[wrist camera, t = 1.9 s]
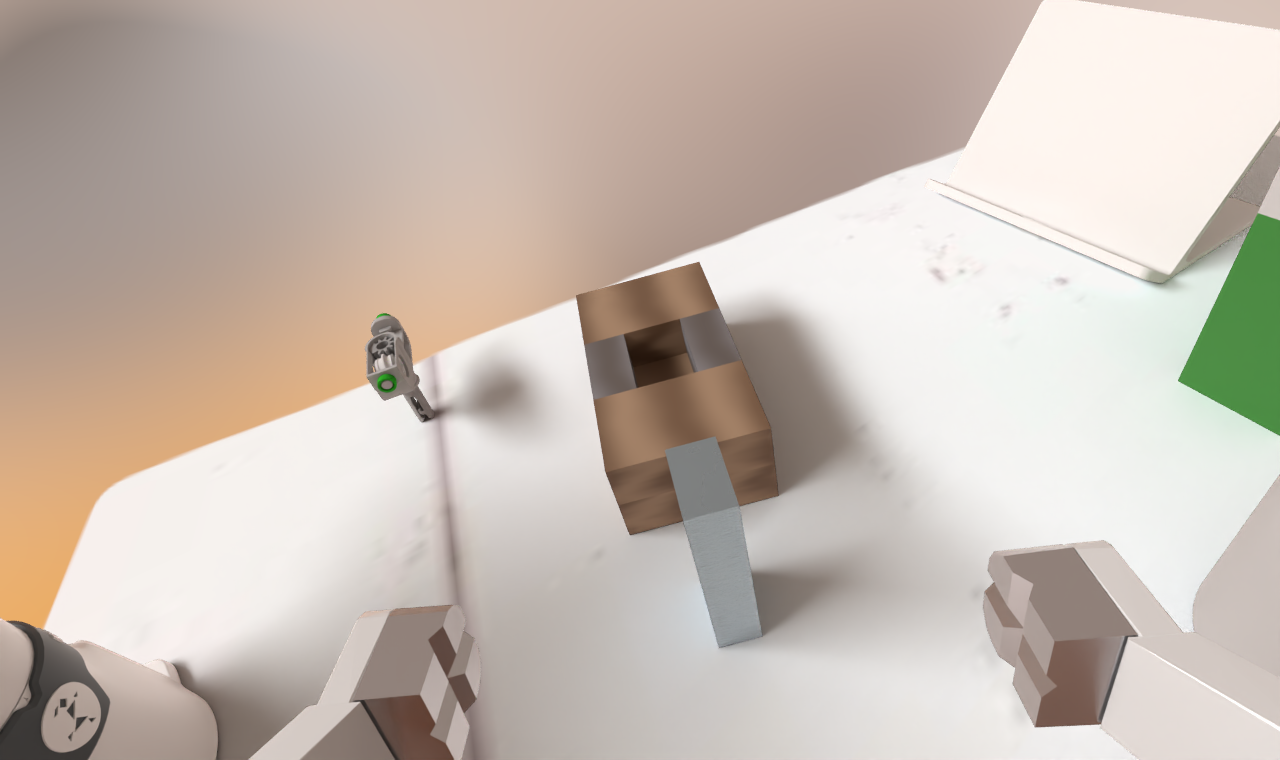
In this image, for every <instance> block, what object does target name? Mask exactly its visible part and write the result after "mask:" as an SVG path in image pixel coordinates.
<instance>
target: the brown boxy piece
mask: <svg viewBox="0 0 1280 760" xmlns="http://www.w3.org/2000/svg"><path fill="white" fill-rule="evenodd" d="M576 298H577V304H578V310H579V316H580V322H581V328H582V334H583V340H584V346H585V352H586V358H587V364H588V370H589V376H590V382H591V388H592V394H593V400H594V406H595V412H596V418H597V424H598V430H599V436H600V442H601V448H602V454H603V460H604V466H605V472H606V475H607V477H608V480H609V482H610V485H611V488H612V490H613V493H614V495H615V498H616V501H617V503H618V506H619V508H620V511H621V513H622V516H623V519H624V521H625V524H626V526H627V529H628V532H629V534H630V535H632V534H636V533H640V532H643V531H647V530H651V529H655V528H658V527H662V526H666V525H670V524H673V523H677V522H681V521H683V518H682V515H681V511H680V507H679V503H678V499H677V495H676V491H675V488H674V484H673V480H672V476H671V472H670V468H669V465H668V461H667V457H666V453H665V450H666V449H670V448H674V447H677V446H681V445H685V444H689V443H692V442H696V441H700V440H703V439H707V438H711V437H716V439H717V442H718V445H719V448H720V451H721V454H722V457H723V460H724V463H725V466H726V469H727V472H728V475H729V477H730V480H731V483H732V486H733V489H734V492H735V495H736V498H737V501H738V504H739V506H741V505H745V504H749V503H752V502H756V501H760V500H764V499H768V498H771V497H775V496H778V488H777V479H776V470H775V461H774V452H773V443H772V433H771V427H770V425H769V422H768V420H767V418H766V416H765V413H764V411H763V409H762V406H761V404H760V402H759V399H758V397H757V395H756V392H755V390H754V388H753V385H752V383H751V381H750V378H749V376H748V374H747V372H746V369H745V367H744V365H743V362H742V360H741V358H740V355H739V353H738V351H737V348H736V346H735V344H734V341H733V339H732V337H731V334H730V332H729V330H728V327H727V325H726V323H725V321H724V318H723V316H722V314H721V311H720V309H719V307H718V304H717V302H716V300H715V297H714V295H713V293H712V290H711V288H710V286H709V283H708V281H707V279H706V277H705V274H704V272H703V270H702V267H701V265H700V263H699V262H697V263H693V264H689V265H686V266H682V267H678V268H675V269H671V270H667V271H664V272H660V273H656V274H653V275H649V276H645V277H642V278H638V279H634V280H631V281H627V282H623V283H620V284H616V285H612V286H609V287H605V288H601V289H598V290H594V291H590V292H587V293H583V294H579V295H577V296H576Z"/></svg>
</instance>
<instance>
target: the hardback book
mask: <svg viewBox="0 0 1280 760" xmlns="http://www.w3.org/2000/svg"><path fill="white" fill-rule="evenodd" d="M1178 381H1179V382H1181V383H1183V384H1185V385H1186V386H1188V387H1190V388H1192V389H1194V390H1196V391H1198V392H1199V393H1201V394H1203V395H1205V396H1207V397H1209V398H1211V399H1212V400H1214V401H1216V402H1218V403H1220V404H1222V405H1224V406H1226V407H1227V408H1229V409H1231V410H1233V411H1235V412H1237V413H1239V414H1240V415H1242V416H1244V417H1246V418H1248V419H1250V420H1252V421H1253V422H1255V423H1257V424H1259V425H1261V426H1263V427H1265V428H1266V429H1268V430H1270V431H1272V432H1274V433H1276V434H1278V435H1279V436H1280V167H1279V169H1278V171H1277V173H1276V175H1275V178H1274V180H1273V182H1272V184H1271V186H1270V188H1269V190H1268V192H1267V194H1266V197H1265V199H1264V201H1263V203H1262V205H1261V207H1260V209H1259V211H1258V213H1257V215H1256V218H1255V220H1254V222H1253V224H1252V226H1251V228H1250V230H1249V232H1248V234H1247V237H1246V239H1245V241H1244V243H1243V245H1242V247H1241V249H1240V251H1239V253H1238V255H1237V258H1236V260H1235V262H1234V264H1233V266H1232V268H1231V270H1230V272H1229V274H1228V277H1227V279H1226V281H1225V283H1224V285H1223V287H1222V289H1221V291H1220V293H1219V295H1218V298H1217V300H1216V302H1215V304H1214V306H1213V308H1212V310H1211V312H1210V314H1209V317H1208V319H1207V321H1206V323H1205V325H1204V327H1203V329H1202V331H1201V333H1200V335H1199V338H1198V340H1197V342H1196V344H1195V346H1194V348H1193V350H1192V352H1191V354H1190V356H1189V359H1188V361H1187V363H1186V365H1185V367H1184V369H1183V371H1182V373H1181V375H1180V378H1179V380H1178Z"/></svg>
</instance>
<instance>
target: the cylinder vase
mask: <svg viewBox="0 0 1280 760" xmlns="http://www.w3.org/2000/svg"><path fill="white" fill-rule="evenodd" d="M1193 627H1194V632H1196V633H1198V634H1200V635H1202V636H1203V637H1205V638H1207V639H1209V640H1211V641H1213V642H1214V643H1216V644H1218V645H1220V646H1222V647H1224V648H1225V649H1227V650H1229V651H1231V652H1233V653H1235V654H1236V655H1238V656H1240V657H1242V658H1244V659H1246V660H1247V661H1249V662H1251V663H1253V664H1255V665H1257V666H1258V667H1260V668H1262V669H1264V670H1266V671H1268V672H1269V673H1271V674H1273V675H1275V676H1277V677H1279V678H1280V475H1279V476H1278V478H1277V479H1276V480H1275V482H1274V483H1273V485H1272V486H1271V487H1270V489H1269V490H1268V491H1267V493H1266V494H1265V496H1264V497H1263V498H1262V500H1261V501H1260V503H1259V504H1258V505H1257V507H1256V508H1255V510H1254V511H1253V512H1252V514H1251V515H1250V517H1249V518H1248V519H1247V521H1246V522H1245V524H1244V525H1243V526H1242V528H1241V529H1240V531H1239V532H1238V533H1237V535H1236V536H1235V538H1234V539H1233V540H1232V542H1231V543H1230V545H1229V546H1228V547H1227V549H1226V550H1225V552H1224V553H1223V554H1222V556H1221V557H1220V559H1219V560H1218V561H1217V563H1216V564H1215V566H1214V567H1213V568H1212V570H1211V571H1210V573H1209V574H1208V575H1207V577H1206V578H1205V579H1204V581H1203V582H1202V584H1201V585H1200V587H1199V589H1198V591H1197V594H1196V597H1195V600H1194V605H1193Z"/></svg>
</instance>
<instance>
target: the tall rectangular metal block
mask: <svg viewBox="0 0 1280 760" xmlns="http://www.w3.org/2000/svg"><path fill="white" fill-rule="evenodd" d="M665 453H666V457H667V461H668V465H669V468H670V472H671V476H672V480H673V484H674V488H675V491H676V495H677V499H678V503H679V507H680V511H681V515H682V518H683V522H684V526H685V529H686V533H687V536H688V540H689V543H690V547H691V550H692V554H693V558H694V561H695V565H696V568H697V572H698V575H699V579H700V582H701V586H702V589H703V593H704V597H705V600H706V604H707V607H708V611H709V614H710V618H711V621H712V625H713V628H714V632H715V636H716V639H717V643H718V646H719V648H720V647H724V646H728V645H732V644H736V643H739V642H743V641H747V640H751V639H755V638H758V637H762V631H761V625H760V620H759V614H758V609H757V603H756V597H755V592H754V586H753V581H752V575H751V569H750V564H749V558H748V552H747V547H746V541H745V536H744V530H743V524H742V519H741V513H740V507H739V504H738V501H737V498H736V495H735V492H734V489H733V486H732V483H731V480H730V477H729V475H728V472H727V469H726V466H725V463H724V460H723V457H722V454H721V451H720V448H719V445H718V442H717V439H716V437H711V438H707V439H703V440H700V441H696V442H692V443H689V444H685V445H681V446H677V447H674V448H670V449H666V450H665Z"/></svg>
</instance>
